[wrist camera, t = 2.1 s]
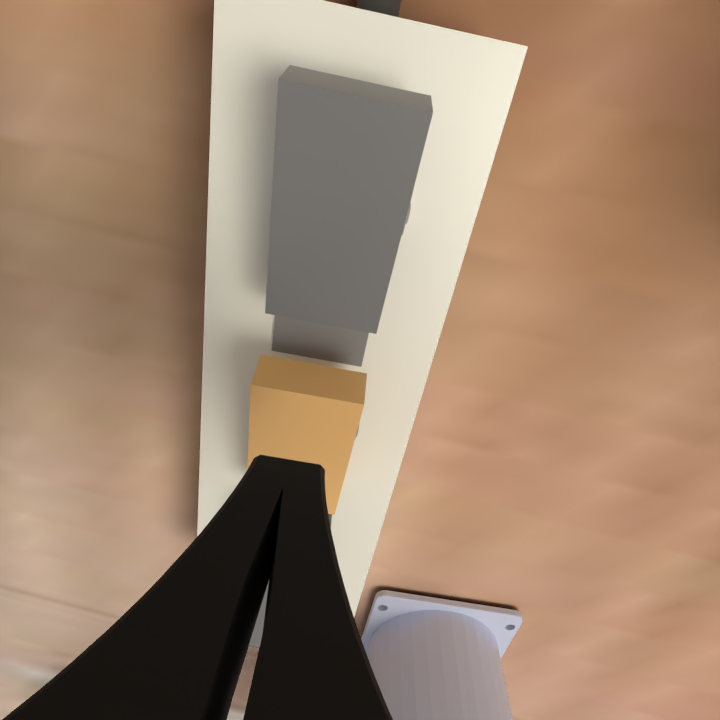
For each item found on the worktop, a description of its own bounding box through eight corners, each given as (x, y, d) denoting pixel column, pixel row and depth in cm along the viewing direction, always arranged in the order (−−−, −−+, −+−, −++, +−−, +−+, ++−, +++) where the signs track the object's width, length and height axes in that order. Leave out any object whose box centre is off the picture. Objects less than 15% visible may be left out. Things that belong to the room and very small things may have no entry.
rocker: (378, 307, 14) (376, 333, 13) (274, 288, 14) (264, 313, 13) (430, 95, 10) (432, 111, 9) (289, 65, 10) (278, 78, 9)
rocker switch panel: (356, 555, 25) (352, 638, 21) (218, 533, 25) (189, 614, 21) (578, -243, 11) (675, -400, 8) (272, -324, 11) (215, -533, 7)
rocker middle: (338, 484, 18) (334, 514, 17) (254, 470, 17) (246, 500, 16) (367, 373, 14) (364, 404, 13) (261, 354, 14) (250, 384, 13)
